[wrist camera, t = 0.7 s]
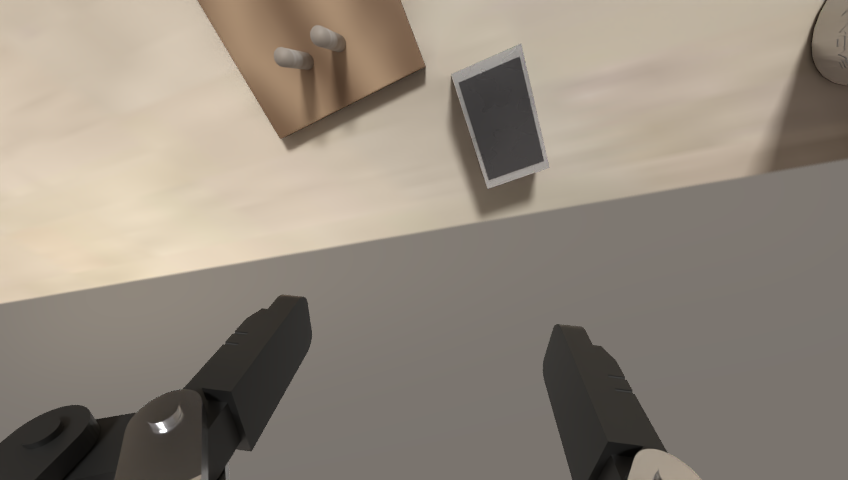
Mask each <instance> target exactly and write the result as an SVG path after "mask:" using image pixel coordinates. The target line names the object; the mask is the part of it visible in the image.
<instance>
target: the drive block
mask: <svg viewBox="0 0 848 480" xmlns="http://www.w3.org/2000/svg"><path fill="white" fill-rule="evenodd" d="M451 77H452V80H453V83H454V86H455V89H456V92H457V96H458V99H459V102H460V105H461V108H462V111H463V114H464V118H465V121H466V124H467V127H468V130H469V133H470V136H471V140H472V143H473V146H474V149H475V152H476V155H477V158H478V162H479V165H480V168H481V171H482V174H483V177H484V180H485V183H486V186H487V189H489V188H492V187H495V186H498V185H501V184H503V183H506V182H509V181H512V180H515V179H518V178H521V177H524V176H527V175H530V174H533V173H535V172H538V171H541V170H544V169H547V168H549V164H548V159H547V155H546V151H545V146H544V142H543V137H542V133H541V129H540V124H539V120H538V115H537V111H536V107H535V102H534V98H533V93H532V89H531V85H530V80H529V76H528V71H527V67H526V63H525V58H524V54H523V49H522V45H521V44H519V45H516V46H514V47H512V48H510V49H507V50H505V51H503V52H501V53H498V54H496V55H494V56H491V57H489V58H487V59H485V60H482V61H480V62H478V63H476V64H473V65H471V66H469V67H466V68H464V69H462V70H460V71H457V72H455V73H453V74H451Z"/></svg>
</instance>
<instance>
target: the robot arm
mask: <svg viewBox="0 0 848 480" xmlns="http://www.w3.org/2000/svg"><path fill="white" fill-rule="evenodd" d="M812 57H813V60H814V62H815V65H816V68H817V69H818V70H819V72H820V73H821V74H822V75H823V77H825V78H827V79H828V80H830V81H832V82H834V83H838V84H842V85H848V0H827V1H826V3H825V5H824V7H823V8H822V10H821V12H820V15H819V17H818V20H817V23H816V25H815V28H814V33H813V39H812ZM311 339H312V330H311V323H310V316H309V310H308V303H307V299H306V298H305V297H300V296H291V295H280V296H279V297H278V298H277V299H276V300H275V301H274V302H273V304H272V305H271V306H270V307H269V308H268V309H261V310H259V311H258V312H256V313H254V314H253V315H251V316H250V317H248V318H247V319H246V320H245V321H244V322H243V323H242V324H241V325H240V326H239V328H237V330H236V331H235V334H232V335H231V336H230V337H229V338H228V340H227V341H226V344H225V345H222V346H221V347H220V349H219V350H218V351H217V352H216V353H215V354H214V355H213V356H212V357H211V358H210V360H209V361H208V362H207V363H206V364H205V365H204V366H203V367H202V368H201V370H200V371H199V372H198V373H197V374H196V375H195V376H194V377H193V378H192V380H191V381H190V382H189V383H188V384H187V385H186V386H185V387H184V388H183V389H179V390H174V391H171V392H167V393H165V394H162V395H160V396H158V397H156V398H155V399H153V400H151V401H149V402H148V403H147V404H145V405H144V406H143V407H142V408H141V409H139V410H138V411H137V412H136V413H131V414H125V415H119V416H113V417H108V418H102V419H95V418H94V417H93V415H92V414H91V412H90V411H89V409H87V408H86V407H84V406H80V405H70V406H64V407H60V408H57V409H54V410H51V411H49V412H46V413H44V414H42V415H40V416H38V417H36V418H34V419H32V420H31V421H29V422H27V423H26V424H24V425H23V426H21V427H20V428H18V429H17V430H16V431H14V432H13V433H12V434H10V435H9V436H8V437H7V438H6V439H5V440H3V441H2V442H1V443H0V480H230V476H229V465H228V461H229V459H230V458H231V456H232V455H233V453H234V451H235V450H236V449H238V450H245V451H252V450H253V448H254V446H255V444H256V442H257V441H258V439H259V437H260V435H261V434H262V432H263V430H264V428H265V426H266V425H267V423H268V421H269V419H270V418H271V416H272V414H273V412H274V411H275V409H276V407H277V405H278V403H279V401H280V400H281V398H282V396H283V395H284V393H285V391H286V389H287V387H288V386H289V384H290V382H291V380H292V379H293V377H294V375H295V373H296V371H297V370H298V368H299V366H300V364H301V362H302V361H303V359H304V357H305V355H306V353H307V352H308V350H309V347H310V344H311ZM543 376H544V381H545V385H546V388H547V391H548V395H549V399H550V402H551V406H552V409H553V413H554V416H555V420H556V423H557V427H558V431H559V434H560V438H561V441H562V445H563V448H564V452H565V455H566V459H567V462H568V466H569V469H570V473H571V476H572V480H702V479H701V478H700V477H699V476H698V475H697V474H696V473H695V472H694V471H693V470H692V469H691V468H690V467H689V466H687V465H686V464H685V463H683V462H682V461H681V460H679V459H678V458H676V457H674V456H672V455H671V454H668V452H667V451H666V449H665V448H664V446H663V444H662V442H661V440H660V439H659V437H658V435H657V433H656V432H655V430H654V428H653V426H652V425H651V423H650V421H649V419H648V417H647V416H646V414H645V412H644V410H643V408H642V407H641V405H640V403H639V401H638V399H637V398H636V396H635V394H633V393H632V389H631V387H630V385H629V383H628V382H627V380H625V377H624V374H623V373H622V371H621V369H620V367H619V365H618V364H617V362H616V361H615V359H614V358H613V357H612V356H610V355H609V354H608V353H607V352H606V351H605V350H604V349H603V348H602V347H601V346H595V345H592V343H591V341H590V339H589V337H588V335H587V333H586V331H585V329H584V328H583V327H580V326H570V325H560V324H557V325H555V326H554V328H553V331H552V334H551V337H550V341H549V344H548V347H547V350H546V354H545V357H544V361H543Z"/></svg>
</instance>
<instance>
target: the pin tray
mask: <svg viewBox="0 0 848 480" xmlns="http://www.w3.org/2000/svg"><path fill="white" fill-rule="evenodd" d="M198 2H199V3H200V5H201V7H202V8H203V10H204V12H205V13H206V15H207V17H208V18H209V20H210V22H211V24H212V25H213V27H214V29H215V30H216V32H217V34H218V35H219V37H220V39H221V40H222V42H223V44H224V45H225V47H226V49H227V50H228V52H229V54H230V55H231V57H232V59H233V60H234V62H235V64H236V65H237V67H238V69H239V70H240V72H241V74H242V75H243V77H244V79H245V80H246V82H247V84H248V85H249V87H250V89H251V91H252V92H253V94H254V96H255V97H256V99H257V101H258V102H259V104H260V106H261V107H262V109H263V111H264V112H265V114H266V116H267V117H268V119H269V121H270V122H271V124H272V126H273V127H274V129H275V131H276V132H277V134H278V136H279V137H280V138H283V137H286V136H288V135H290V134H292V133H294V132H296V131H298V130H300V129H302V128H304V127H306V126H308V125H310V124H312V123H314V122H316V121H318V120H320V119H322V118H324V117H326V116H328V115H330V114H332V113H334V112H336V111H338V110H340V109H342V108H344V107H346V106H348V105H350V104H352V103H354V102H356V101H358V100H360V99H362V98H364V97H366V96H368V95H370V94H372V93H374V92H376V91H378V90H380V89H382V88H384V87H386V86H388V85H390V84H392V83H394V82H396V81H398V80H400V79H402V78H404V77H406V76H408V75H410V74H412V73H414V72H416V71H418V70H420V69H422V68H424V67H426V66H425V63H424V61H423V58H422V56H421V53H420V50H419V48H418V45H417V42H416V40H415V37H414V34H413V32H412V29H411V27H410V24H409V21H408V19H407V16H406V13H405V11H404V8H403V6H402V3H401V0H198Z"/></svg>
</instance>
